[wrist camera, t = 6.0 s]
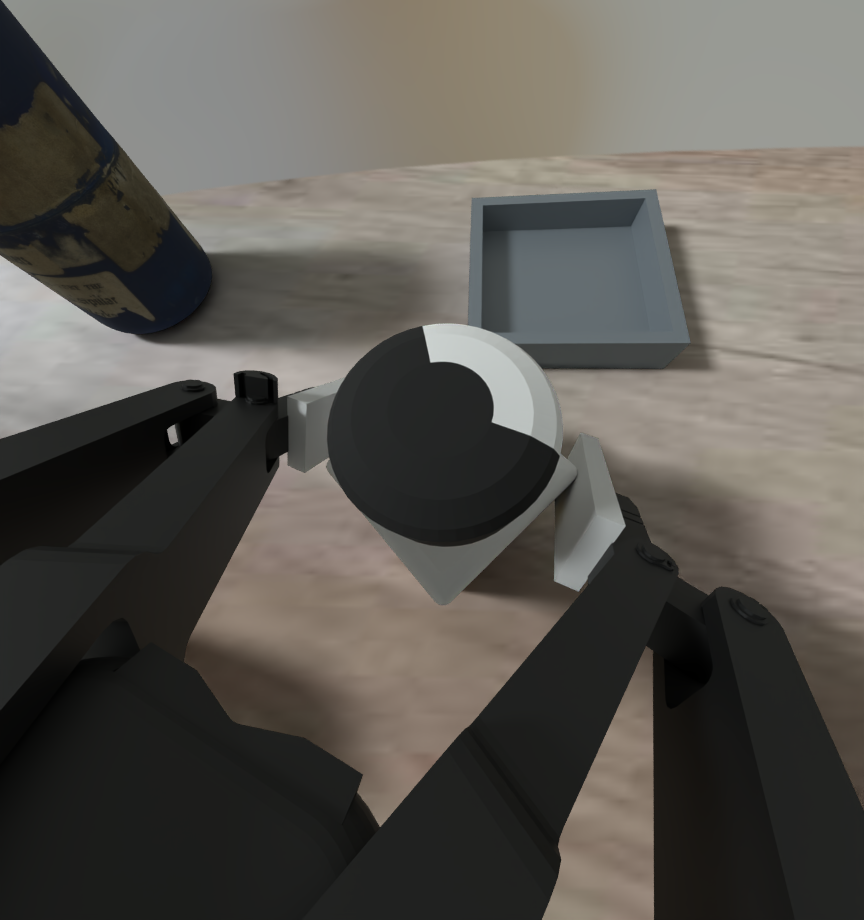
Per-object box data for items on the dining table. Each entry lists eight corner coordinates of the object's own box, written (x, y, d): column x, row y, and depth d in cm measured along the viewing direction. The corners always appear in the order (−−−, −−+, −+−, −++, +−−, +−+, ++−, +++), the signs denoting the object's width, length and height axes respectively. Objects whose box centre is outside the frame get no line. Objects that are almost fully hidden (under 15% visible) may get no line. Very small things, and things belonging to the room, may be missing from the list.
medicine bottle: (448, 592, 17) (428, 652, 6) (368, 497, 19) (237, 405, 8) (538, 503, 18) (670, 408, 7) (453, 423, 20) (447, 246, 9)
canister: (97, 350, 25) (-726, -129, 8) (124, 260, 28) (-421, -232, 10) (214, 335, 24) (-379, -214, 7) (229, 245, 27) (-162, -295, 10)
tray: (636, 226, 24) (655, 189, 22) (663, 368, 20) (690, 342, 18) (470, 232, 25) (471, 198, 23) (466, 367, 21) (467, 343, 19)
